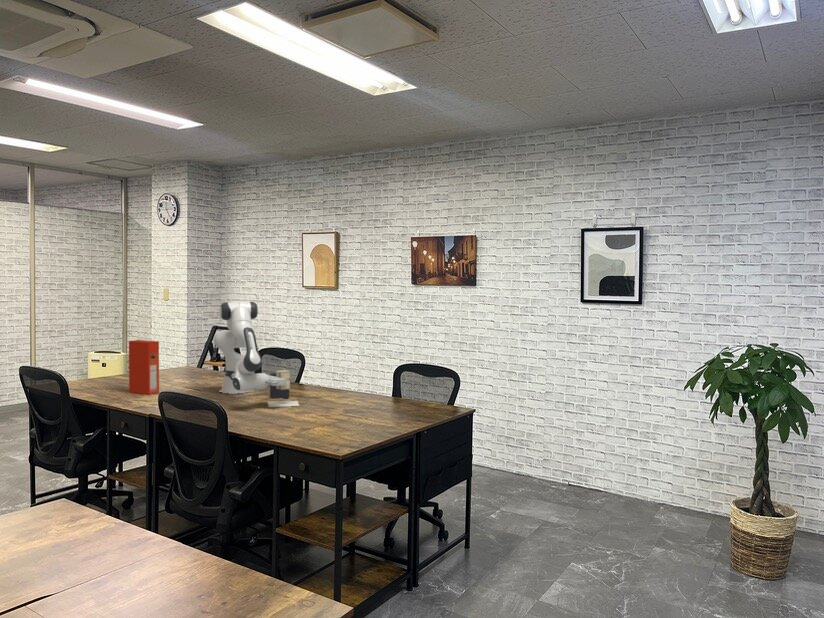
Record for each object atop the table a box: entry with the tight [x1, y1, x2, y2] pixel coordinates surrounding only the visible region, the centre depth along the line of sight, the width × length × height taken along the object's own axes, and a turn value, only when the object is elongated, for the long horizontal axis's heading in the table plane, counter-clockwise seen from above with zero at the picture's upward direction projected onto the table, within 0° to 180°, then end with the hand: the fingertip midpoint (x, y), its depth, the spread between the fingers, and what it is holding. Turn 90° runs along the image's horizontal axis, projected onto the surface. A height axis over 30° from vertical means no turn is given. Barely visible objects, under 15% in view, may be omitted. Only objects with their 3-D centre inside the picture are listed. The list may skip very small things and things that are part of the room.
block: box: [276, 370, 291, 390], centre depth 363 cm, size 5×6×10 cm
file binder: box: [128, 339, 160, 396], centre depth 391 cm, size 8×17×32 cm, turn 62°
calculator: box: [269, 372, 290, 400], centre depth 382 cm, size 11×4×15 cm, turn 84°
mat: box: [267, 400, 300, 408], centre depth 364 cm, size 14×17×1 cm
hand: (283, 379), depth 363 cm, fingers closed on block, 5 cm apart
